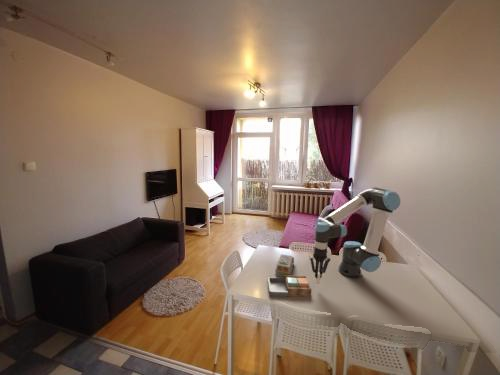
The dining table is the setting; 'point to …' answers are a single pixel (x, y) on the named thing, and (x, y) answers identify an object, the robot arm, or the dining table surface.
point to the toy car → (284, 266)
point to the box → (277, 287)
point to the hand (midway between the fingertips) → (317, 282)
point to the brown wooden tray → (297, 288)
